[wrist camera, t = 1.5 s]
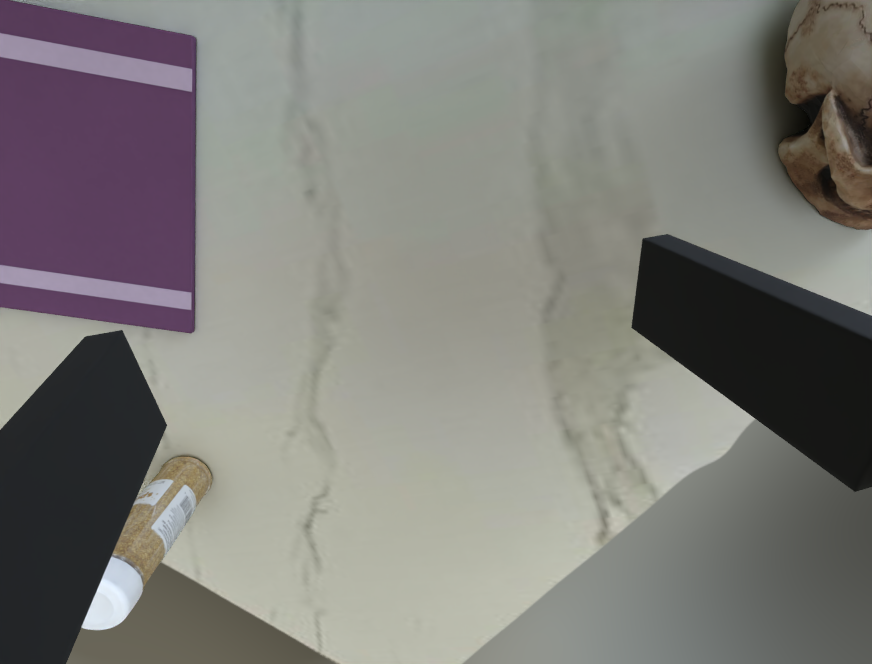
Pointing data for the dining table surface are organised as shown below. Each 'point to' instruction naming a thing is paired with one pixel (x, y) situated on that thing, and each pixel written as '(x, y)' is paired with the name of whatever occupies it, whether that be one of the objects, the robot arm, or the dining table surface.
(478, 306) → the dining table surface
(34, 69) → the towel
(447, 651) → the dining table surface
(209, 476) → the sprinkles bottle
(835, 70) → the coin bank
